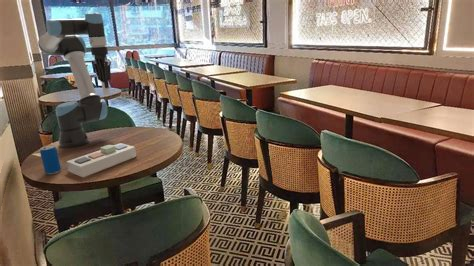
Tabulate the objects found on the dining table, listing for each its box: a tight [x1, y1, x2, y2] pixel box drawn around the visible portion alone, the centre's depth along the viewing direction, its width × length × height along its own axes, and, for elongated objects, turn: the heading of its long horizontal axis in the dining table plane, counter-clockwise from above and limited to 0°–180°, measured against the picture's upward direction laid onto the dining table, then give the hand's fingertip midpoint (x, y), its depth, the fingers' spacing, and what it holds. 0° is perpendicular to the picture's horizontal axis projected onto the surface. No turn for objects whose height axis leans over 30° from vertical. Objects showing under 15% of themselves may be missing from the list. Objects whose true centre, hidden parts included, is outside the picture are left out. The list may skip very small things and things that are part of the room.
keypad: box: [66, 142, 137, 178], centre depth 156 cm, size 12×28×5 cm, turn 143°
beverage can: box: [39, 144, 62, 175], centre depth 148 cm, size 6×6×12 cm
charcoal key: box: [75, 157, 91, 164], centre depth 148 cm, size 5×5×3 cm
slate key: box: [115, 143, 127, 150], centre depth 163 cm, size 5×5×3 cm
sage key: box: [99, 144, 116, 155], centre depth 158 cm, size 5×5×3 cm
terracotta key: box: [88, 152, 104, 159], centre depth 153 cm, size 5×5×3 cm
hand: (106, 94), depth 168 cm, fingers closed
